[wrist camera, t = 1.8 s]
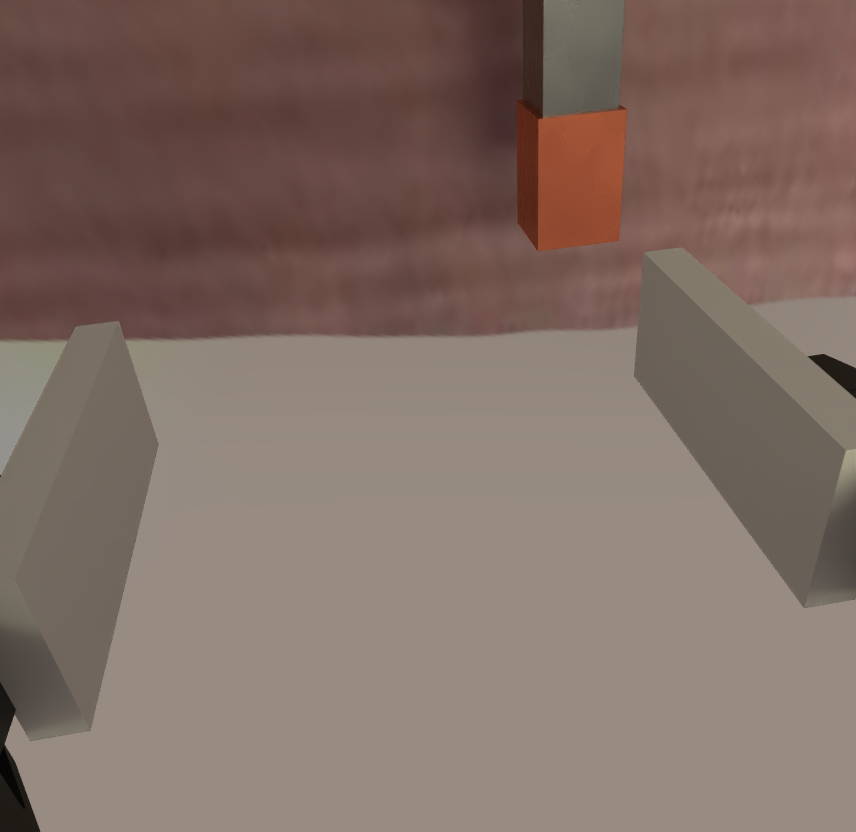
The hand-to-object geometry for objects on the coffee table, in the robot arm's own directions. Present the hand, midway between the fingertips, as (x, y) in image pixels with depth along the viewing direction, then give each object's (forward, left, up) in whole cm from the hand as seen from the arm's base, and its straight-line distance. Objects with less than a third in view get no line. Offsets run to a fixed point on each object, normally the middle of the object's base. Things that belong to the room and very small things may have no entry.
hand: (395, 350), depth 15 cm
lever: (+8, +3, -15) cm, 17 cm away
